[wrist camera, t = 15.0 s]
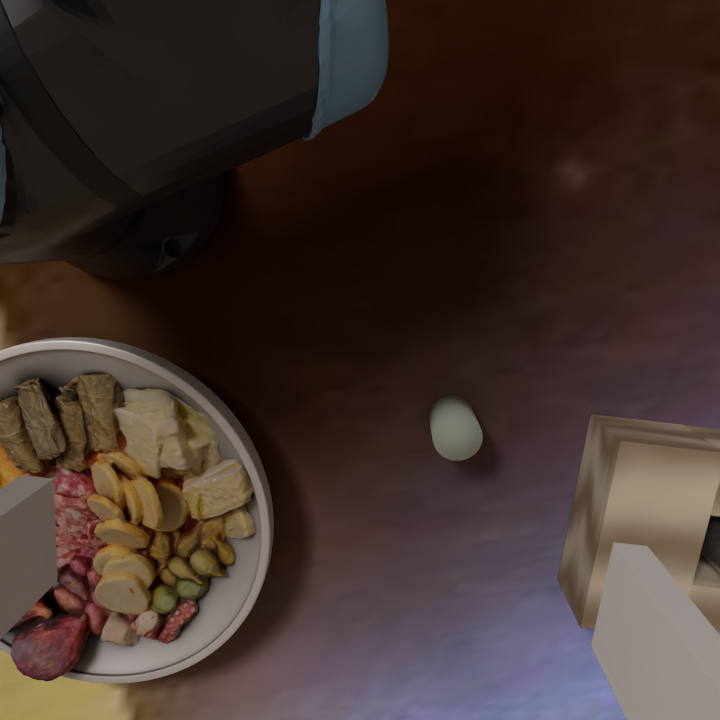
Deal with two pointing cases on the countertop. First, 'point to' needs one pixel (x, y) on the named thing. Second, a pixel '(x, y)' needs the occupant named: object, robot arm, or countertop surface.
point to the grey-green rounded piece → (454, 428)
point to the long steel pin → (712, 542)
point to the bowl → (132, 510)
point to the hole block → (643, 508)
